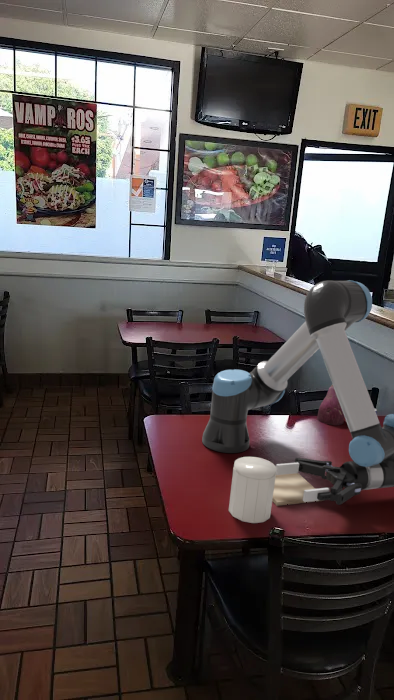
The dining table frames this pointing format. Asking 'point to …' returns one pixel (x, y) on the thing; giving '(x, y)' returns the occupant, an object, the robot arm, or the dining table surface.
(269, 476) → the white rounded cylinder
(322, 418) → the vegetable
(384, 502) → the dining table surface
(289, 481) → the coaster
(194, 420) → the dining table surface
